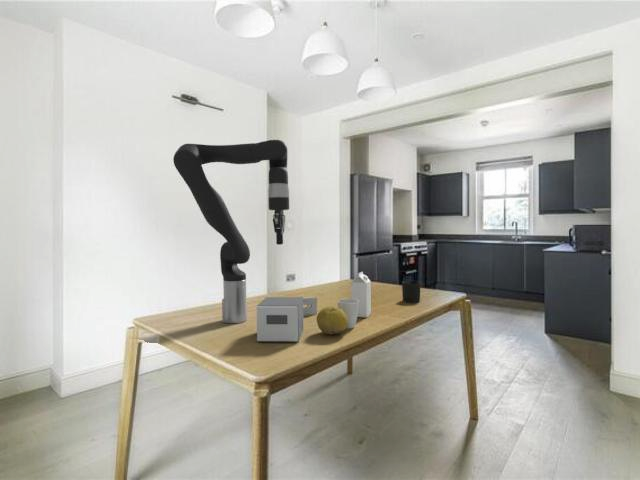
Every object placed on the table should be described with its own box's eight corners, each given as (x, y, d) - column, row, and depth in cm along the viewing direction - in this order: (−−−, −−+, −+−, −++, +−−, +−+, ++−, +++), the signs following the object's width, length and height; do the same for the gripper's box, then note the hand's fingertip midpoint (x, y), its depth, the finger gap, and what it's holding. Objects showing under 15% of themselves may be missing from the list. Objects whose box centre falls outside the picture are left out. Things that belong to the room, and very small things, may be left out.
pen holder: (417, 303, 179) (417, 283, 179) (399, 301, 184) (399, 282, 184) (422, 300, 187) (422, 281, 187) (405, 298, 192) (405, 280, 192)
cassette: (316, 313, 160) (315, 296, 160) (317, 314, 158) (317, 297, 158) (290, 316, 155) (290, 299, 155) (292, 317, 154) (291, 299, 153)
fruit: (324, 340, 120) (324, 311, 120) (311, 331, 131) (311, 305, 131) (353, 336, 125) (353, 308, 125) (338, 328, 136) (338, 302, 135)
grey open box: (257, 341, 120) (257, 305, 120) (267, 329, 135) (266, 297, 135) (298, 342, 119) (298, 305, 119) (303, 329, 134) (303, 297, 134)
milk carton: (350, 316, 153) (350, 273, 153) (355, 313, 160) (355, 271, 159) (366, 318, 151) (366, 273, 150) (370, 314, 157) (370, 271, 157)
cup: (360, 324, 140) (360, 299, 140) (355, 330, 132) (355, 303, 132) (340, 323, 143) (340, 298, 142) (335, 328, 135) (334, 302, 135)
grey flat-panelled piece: (257, 341, 118) (256, 307, 118) (266, 328, 134) (266, 298, 133) (297, 341, 117) (297, 307, 117) (302, 328, 133) (302, 298, 132)
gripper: (286, 195, 122) (287, 245, 123) (291, 198, 135) (292, 243, 136) (264, 195, 122) (265, 245, 123) (271, 198, 136) (273, 243, 136)
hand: (279, 244), depth 130 cm, fingers closed
